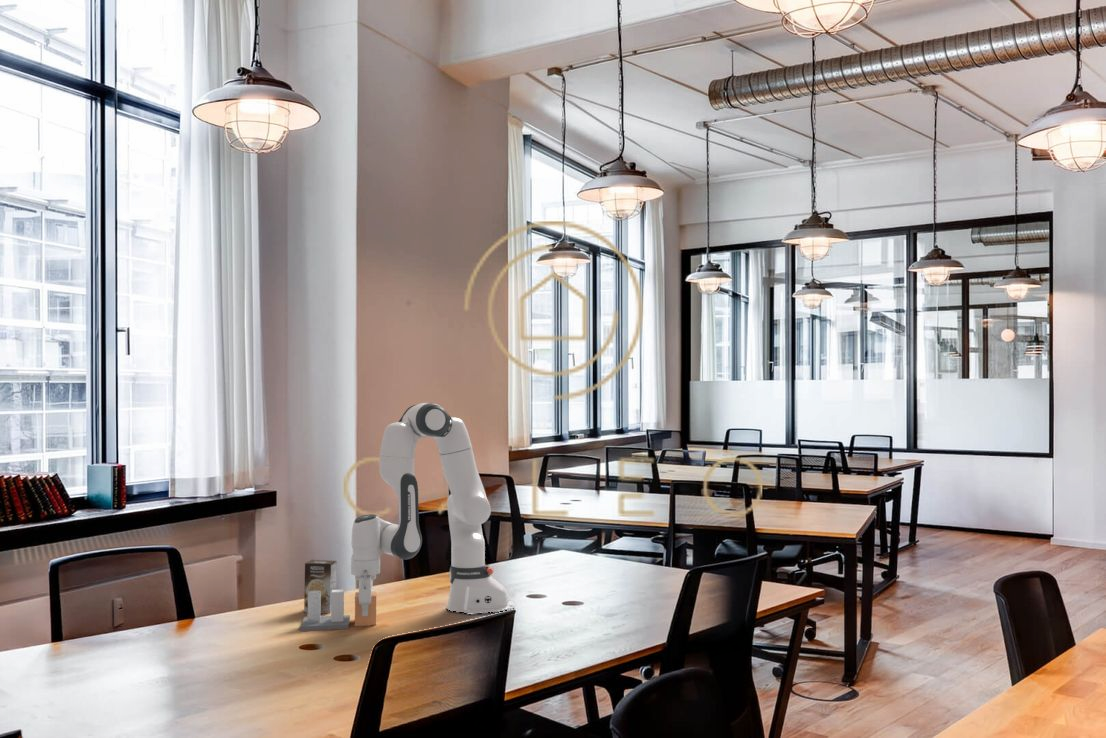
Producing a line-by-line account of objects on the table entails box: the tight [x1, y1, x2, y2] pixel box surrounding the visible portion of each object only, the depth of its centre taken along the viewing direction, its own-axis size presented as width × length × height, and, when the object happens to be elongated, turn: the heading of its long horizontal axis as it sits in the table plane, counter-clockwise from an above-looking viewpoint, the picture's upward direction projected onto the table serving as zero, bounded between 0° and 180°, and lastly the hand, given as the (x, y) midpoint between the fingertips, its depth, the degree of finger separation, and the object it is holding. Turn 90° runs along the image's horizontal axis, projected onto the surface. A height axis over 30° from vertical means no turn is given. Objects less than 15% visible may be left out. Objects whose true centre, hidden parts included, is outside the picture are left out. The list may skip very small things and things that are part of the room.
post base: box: [300, 588, 351, 632], centre depth 276 cm, size 14×12×10 cm
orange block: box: [354, 591, 377, 627], centre depth 278 cm, size 6×6×9 cm
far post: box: [307, 590, 322, 623], centre depth 275 cm, size 4×4×10 cm
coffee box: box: [303, 559, 338, 614], centre depth 294 cm, size 9×6×16 cm
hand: (365, 612), depth 278 cm, fingers closed on orange block, 6 cm apart
